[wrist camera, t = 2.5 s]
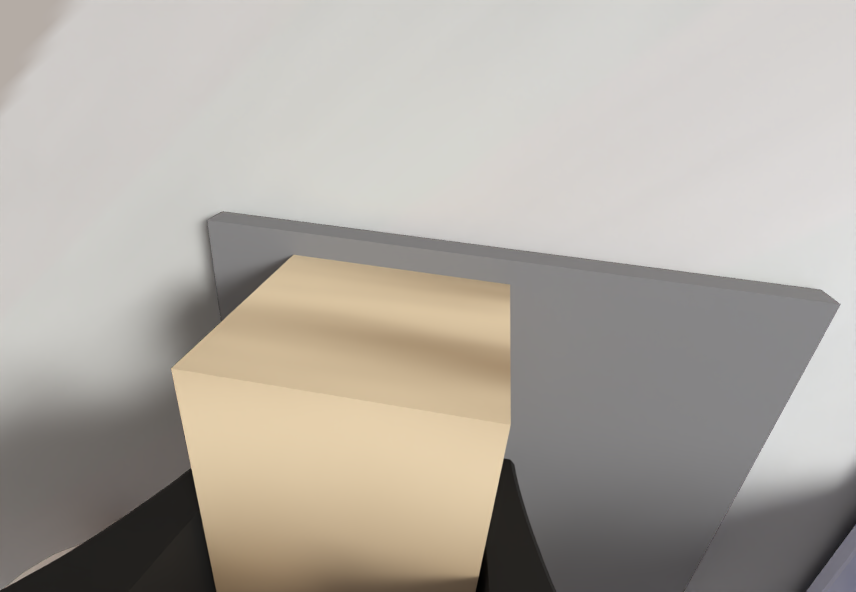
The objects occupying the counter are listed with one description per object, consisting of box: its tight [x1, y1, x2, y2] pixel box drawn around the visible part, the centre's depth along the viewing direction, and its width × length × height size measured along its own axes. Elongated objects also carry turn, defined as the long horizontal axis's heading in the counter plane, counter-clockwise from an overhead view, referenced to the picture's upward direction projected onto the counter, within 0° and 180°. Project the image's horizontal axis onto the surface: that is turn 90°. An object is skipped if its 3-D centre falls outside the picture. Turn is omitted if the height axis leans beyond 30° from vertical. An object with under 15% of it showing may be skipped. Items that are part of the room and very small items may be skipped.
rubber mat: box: [207, 212, 841, 592], centre depth 14 cm, size 12×20×1 cm, turn 175°
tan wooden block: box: [171, 255, 511, 592], centre depth 10 cm, size 9×4×4 cm, turn 175°
